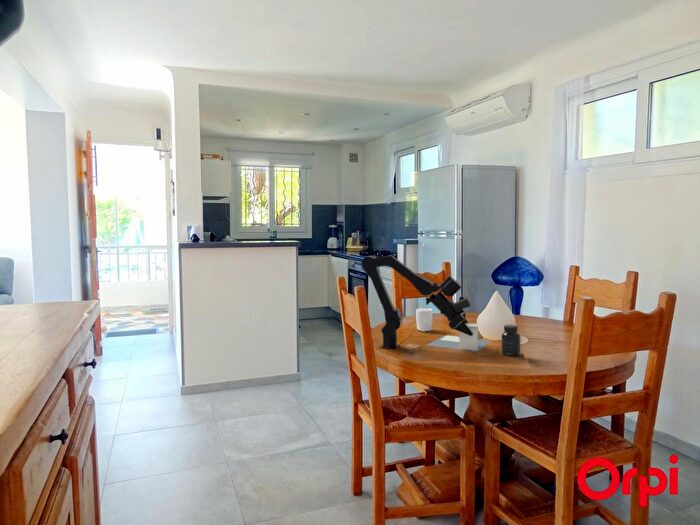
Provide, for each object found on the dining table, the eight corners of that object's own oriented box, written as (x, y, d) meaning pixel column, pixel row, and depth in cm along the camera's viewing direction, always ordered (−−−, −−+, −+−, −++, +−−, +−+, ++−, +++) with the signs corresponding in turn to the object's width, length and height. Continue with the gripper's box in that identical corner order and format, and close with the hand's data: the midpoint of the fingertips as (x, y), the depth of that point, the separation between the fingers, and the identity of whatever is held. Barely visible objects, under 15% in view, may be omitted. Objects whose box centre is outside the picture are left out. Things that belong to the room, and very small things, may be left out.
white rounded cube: (477, 350, 188) (477, 327, 188) (459, 349, 190) (459, 326, 189) (477, 345, 195) (477, 323, 194) (459, 344, 197) (459, 323, 196)
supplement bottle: (505, 353, 187) (505, 323, 186) (523, 356, 182) (523, 325, 181) (498, 357, 181) (498, 326, 180) (516, 360, 177) (516, 328, 176)
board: (476, 354, 186) (476, 342, 185) (426, 348, 197) (426, 336, 197) (491, 343, 203) (491, 332, 202) (444, 338, 214) (444, 327, 213)
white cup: (413, 331, 228) (413, 310, 227) (419, 328, 235) (419, 307, 234) (429, 332, 224) (429, 311, 224) (434, 329, 231) (434, 308, 231)
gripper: (457, 294, 183) (487, 324, 181) (458, 287, 201) (486, 314, 199) (436, 314, 185) (466, 343, 183) (439, 306, 203) (466, 332, 202)
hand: (472, 332), depth 192 cm, fingers open, 8 cm apart
